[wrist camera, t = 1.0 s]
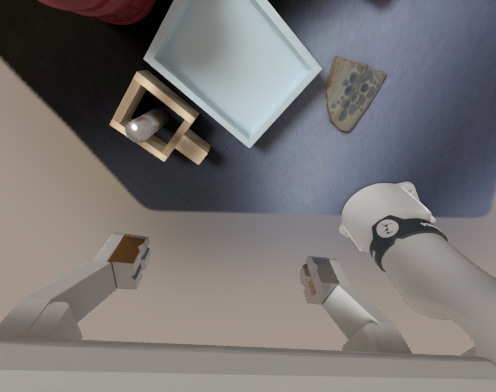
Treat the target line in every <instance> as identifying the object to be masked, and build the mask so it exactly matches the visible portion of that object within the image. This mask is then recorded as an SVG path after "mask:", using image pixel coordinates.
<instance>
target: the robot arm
mask: <svg viewBox="0 0 496 392" xmlns="http://www.w3.org/2000/svg"><path fill="white" fill-rule="evenodd" d="M435 222H436V220H435V218H434V217H433V216H432V213H431V212H430V211H429V210H428V209H427V208H426V207H425V206H424V205H423V204H422V203H421V202H420V200H419V197H418V194H417V192H416V189H415V186H414V185H413V184H412V183H411V182H402V183H398V184H391V183H378V184H374V185H370V186H368V187H365V188H363V189H361V190H360V191H358V192H357V193H355V194H354V195H353V196H352V197H351V198H350V199H349V200H348V201H347V203H346V204H345V206H344V208H343V211H342V223H341V224H340V227H339V232H340V233H341V234H342V235H344V236H346V237H348V238H350V239H352V240H353V241H354V243H355V244H356V246H357V247H358V249H359V250H360V251H364V252H365V253H367V254H370V255H371V256H372V257H373V259H374V261H375V263H376V264H377V265H378V266H379V267H380V269H381V270H382V271H384V272H386V274H387V275H388V277H389V278H390V280H391V281H392V283H393V284H394V286H395V287H396V289H397V290H398V291H399V293H400V295H401V296H402V298H403V299H404V300H405V302H406V304H407V305H408V306H410V307H411V308H412V309H413V310H415V311H417V312H418V313H420V314H422V315H424V316H427V317H430V318H434V319H441V320H453V321H454V322H455V323H457V324H458V325H459V326H460V327H461V328H462V329H463V330H464V331H465V332H466V333H467V334H468V335H469V336H470V338H471V339H472V340H473V342H474V344H475V346H474V347H473V348H471V349H470V350H468V351H466V352H465V353H463V354H461V355H460V356H453V355H452V356H451V355H430V354H429V355H428V354H412V352H411V350H410V349H409V347H408V345H407V344H406V342H405V340H404V338H403V337H402V335H401V333H400V332H399V330H398V328H397V327H396V325H395V324H394V323H393V322H392V321H391V320H390V319H389V318H388V317H387V316H385V315H384V314H383V313H382V312H381V311H380V310H379V309H378V308H377V307H376V306H374V305H373V304H372V303H371V302H370V301H369V300H368V299H366V298H365V297H364V296H363V295H362V294H361V293H360V292H359V291H358V290H356V289H355V288H354V287H353V286H350V285H349V283H348V281H347V279H346V277H345V275H344V273H343V271H342V269H341V267H340V265H339V263H338V261H337V260H336V259H332V258H324V257H314V256H309V257H307V259H306V264H305V265H303V266H302V268H301V270H300V280H301V283H302V284H303V285H304V287H305V289H304V294H305V297H306V300H307V303H312V304H321V305H322V306H323V307H324V309H325V310H326V311H327V313H328V314H329V315H330V316H331V318H332V319H333V320H334V322H335V323H336V324H337V325H338V327H339V328H340V329H341V330H342V332H343V333H344V334H345V336H346V337H347V338H348V339H349V341H348V342H346V344H344V345H343V347H342V350H343V351H334V350H333V351H332V350H308V349H285V348H263V347H262V348H261V347H239V346H216V345H192V344H167V343H143V342H120V341H119V342H118V341H96V340H81V339H82V334H81V331H80V329H79V327H78V325H77V323H78V321H80V320H81V319H82V318H83V317H85V316H86V315H87V314H88V313H89V312H91V311H92V310H93V309H94V308H95V307H96V306H98V305H99V304H100V303H101V302H102V301H103V300H105V299H106V298H107V297H108V296H109V295H110V294H112V293H113V292H114V291H115V290H116V288H120V289H137V287H138V284H139V282H140V280H141V278H142V270H144V269H145V268H146V266H147V263H148V260H149V256H150V249H149V248H148V245H149V237H143V236H137V235H130V234H122V233H113V234H112V235H111V236H110V238H109V239H108V241H107V242H106V243H105V245H104V246H103V247H102V249H101V250H100V252H99V253H98V255H97V256H96V257H95V259H94V260H93V261H92V260H89V261H87V262H86V263H84V264H82V265H80V266H78V267H77V268H75V269H73V270H72V271H70V272H68V273H66V274H64V275H63V276H61V277H59V278H57V279H55V280H54V281H52V282H50V283H48V284H46V285H45V286H43V287H41V288H40V289H38V290H36V291H34V292H32V293H30V294H29V295H27V296H25V297H23V298H22V299H21V300H20V301H19V303H18V304H17V305H16V306H15V307H14V308H13V309H12V310H11V312H10V313H9V314H8V315H7V316H6V317H5V318H4V319H3V320H2V322H1V323H0V392H496V278H495V277H493V276H491V275H489V274H488V273H487V272H485V271H484V270H482V269H481V268H480V267H478V266H477V265H476V264H474V263H473V262H472V261H470V260H469V259H468V258H467V257H465V256H464V255H463V254H462V253H461V252H459V251H458V250H457V249H456V248H455V247H453V246H452V245H451V244H450V243H449V242H448V240H447V238H446V236H445V235H444V234H443V233H442V232H441V231H440V230H439V229H438V228H437V227H436V226H434V225H433V223H435Z"/></svg>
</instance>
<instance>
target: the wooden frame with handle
mask: <svg viewBox="0 0 496 392" xmlns="http://www.w3.org/2000/svg"><path fill="white" fill-rule="evenodd" d="M146 90H148V91H150V92H151V93H152V94H153V95H155V96H156V97H157V98H159V99H160V100H161V101H162V102H164V103H165V104H166V105H167V106H169V107H170V108H171V109H172V110H174V111H175V112H176V113H177V114H179V115H180V116H181V117H183V118H184V119H185V120H184V122H183V123H182V124H181V126H180V127H179V129H178V130H177V132H176V133H175V135H174V136H173V137H172V139H171V140H170V142H169V143H168V145H167V144H166V143H165V142H163V141H162V140H160V139H159V138H158V137H156V136H155V135H152V136H151V137H149V138H148V139H147V140H146V141H145V142H143V143H137V144H139V145H140V146H142V147H143V148H145V149H146V150H148V151H149V152H151V153H152V154H154V155H155V156H156V157H158V158H159V159H161V160H162V161H164V162H165V160H166V159H167V158H168V157H169V155H170V154H171V153H172V151H173V150H174V148H175V149H177V150H178V151H180V152H181V153H182V154H184V155H185V156H187V157H188V158H189V159H191V160H192V161H194V162H195V163H196V164H198V165H199V164H200V163H201V161H202V160H203V159H204V158H205V156H206V155H207V154H208V152H209V149H210V147H211V145H209V144H208V143H207V142H206V141H204V140H203V139H202V138H201V137H199V136H198V135H197V134H195V133H194V132H193V131H192V130H190V129H189V128H190V126H191V125H192V123H193V122H194V121H195V119H196V118H197V116H198V115H199V114H200V113H199V112H197V111H196V110H195V109H194V108H192V107H191V106H190V105H189V104H188V103H186V102H185V101H184V100H183V99H182V98H180V97H179V96H178V95H177V94H176V93H174V92H173V91H172V90H171V89H170V88H168V87H167V86H166V85H165V84H164V83H162V82H161V81H160V80H159V79H157V78H156V77H155V76H154V75H153V74H151V73H150V72H149V71H148V70H145V71H137V72H136V74H135V76H134V78H133V80H132V82H131V84H130V86H129V88H128V90H127V92H126V94H125V96H124V98H123V99H122V101H121V103H120V105H119V107H118V109H117V111H116V113H115V115H114V117H113V119H112V121H111V123H110V125H111V126H112V127H114V128H115V129H116V130H118V131H119V132H121V133H122V134H124V135H125V136H127V135H126V132H125V127H126V125H127V123H129V122H131V121H132V119H131V117H132V115H133V113H134V112H135V110H136V108H137V106H138V104H139V103H140V101H141V99H142V97H143V95H144V94H145V92H146ZM127 137H128V136H127Z"/></svg>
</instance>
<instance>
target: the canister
mask: <svg viewBox="0 0 496 392" xmlns="http://www.w3.org/2000/svg"><path fill="white" fill-rule="evenodd" d="M38 1H40V2H42V3H44V4H46V5H48V6H50V7H53V8H56V9H60V10H65V11H71V12H73V13H76V14H79V15H83V16H91V17H96V18H98V19H100V20H102V21H105V22H107V23H111V24H116V25H130V24H133V23H136V22H139V21H141V20H143V19H144V18H145V17H147V16H148V15H149V14H150V12H151V11H152V10H153V8H154V6H155V4H156V2H157V0H38Z"/></svg>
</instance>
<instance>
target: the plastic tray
mask: <svg viewBox="0 0 496 392" xmlns="http://www.w3.org/2000/svg"><path fill="white" fill-rule="evenodd" d="M144 60H145V61H146V62H147V63H149V64H150V65H151V66H152V67H153V68H155V69H156V70H157V71H158V72H159V73H161V74H162V75H163V76H164V77H165V78H166V79H168V80H169V81H170V82H171V83H172V84H174V85H175V86H176V87H177V88H178V89H179V90H181V91H182V92H183V93H184V94H185V95H187V96H188V97H189V98H190V99H191V100H193V101H194V102H195V103H196V104H197V105H198V106H200V107H201V108H202V109H203V110H204V111H206V112H207V113H208V114H209V115H210V116H211V117H213V118H214V119H215V120H216V121H217V122H219V123H220V124H221V125H222V126H223V127H225V128H226V129H227V130H228V131H229V132H230V133H232V134H233V135H234V136H235V137H236V138H238V139H239V140H240V141H241V142H242V143H243V144H245V145H246V146H247V147H248V148H249V149H250V148H251V146H252V145H253V144H254V143H255V142H256V141H257V140H258V139H259V138H260V137H261V135H262V134H263V133H264V132H265V131H266V130H267V129H268V128H269V127H270V126H271V125H272V123H273V122H274V121H275V120H276V119H277V118H278V117H279V116H280V115H281V114H282V113H283V111H284V110H285V109H286V108H287V107H288V106H289V105H290V104H291V103H292V102H293V100H294V99H295V98H296V97H297V96H298V95H299V94H300V93H301V92H302V91H303V90H304V88H305V87H306V86H307V85H308V84H309V83H310V82H311V81H312V80H313V79H314V78H315V76H316V75H317V74H318V73H319V72H320V71H321V70H322V68H321V67H320V66H319V64H318V63H317V62H316V61H315V59H314V58H313V57H312V56H311V54H310V53H309V52H308V51H307V49H306V48H305V47H304V46H303V44H302V43H301V42H300V41H299V39H298V38H297V37H296V36H295V34H294V33H293V32H292V31H291V29H290V28H289V27H288V26H287V24H286V23H285V22H284V21H283V19H282V18H281V17H280V16H279V14H278V13H277V12H276V11H275V9H274V8H273V7H272V6H271V4H270V3H269V2H268V1H267V0H174V1H173V2H172V4H171V6H170V8H169V10H168V12H167V14H166V16H165V18H164V20H163V22H162V24H161V26H160V28H159V30H158V32H157V34H156V35H155V37H154V39H153V41H152V43H151V45H150V47H149V49H148V51H147V53H146V55H145V57H144Z"/></svg>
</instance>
